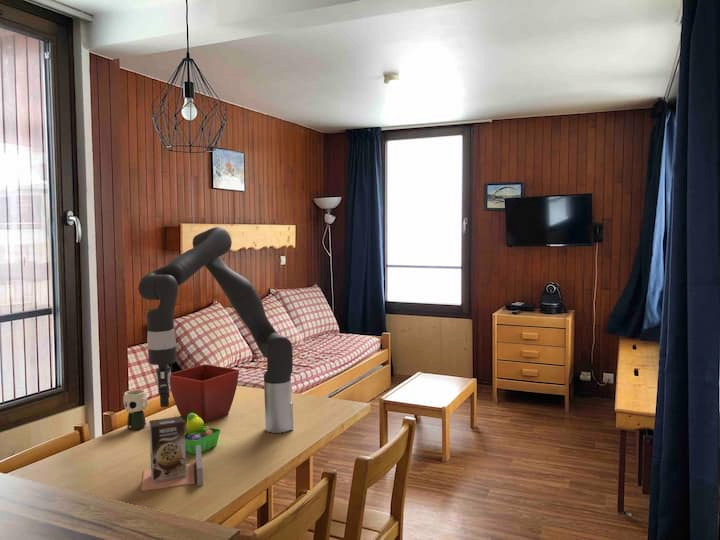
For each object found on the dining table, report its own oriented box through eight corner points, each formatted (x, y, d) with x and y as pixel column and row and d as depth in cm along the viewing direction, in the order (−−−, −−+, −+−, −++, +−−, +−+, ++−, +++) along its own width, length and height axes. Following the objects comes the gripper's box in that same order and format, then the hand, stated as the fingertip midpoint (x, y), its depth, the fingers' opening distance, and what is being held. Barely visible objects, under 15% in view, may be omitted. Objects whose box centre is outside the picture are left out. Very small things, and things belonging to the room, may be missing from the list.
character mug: (117, 429, 211) (115, 393, 210) (132, 422, 218) (130, 388, 217) (141, 433, 207) (139, 396, 206) (155, 426, 213) (153, 390, 212)
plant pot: (242, 412, 226) (240, 369, 225) (204, 427, 210) (202, 381, 209) (206, 405, 237) (205, 363, 235) (168, 419, 221) (165, 374, 219)
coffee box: (153, 483, 164) (150, 426, 163) (150, 475, 170) (148, 420, 169) (187, 477, 168) (184, 421, 167) (183, 468, 174) (181, 415, 173)
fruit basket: (195, 457, 184) (194, 421, 183) (176, 451, 189) (174, 417, 188) (222, 445, 194) (221, 411, 193) (203, 440, 198) (201, 407, 197)
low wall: (201, 460, 181) (200, 444, 180) (203, 485, 164) (202, 467, 163) (196, 461, 180) (195, 445, 180) (197, 486, 163) (196, 468, 163)
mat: (193, 464, 178) (193, 463, 178) (194, 483, 165) (194, 482, 165) (144, 470, 174) (144, 469, 174) (141, 491, 161) (140, 489, 161)
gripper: (175, 349, 161) (179, 408, 162) (176, 339, 174) (179, 394, 176) (146, 352, 158) (149, 411, 160) (149, 342, 172) (152, 397, 173)
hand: (165, 402), depth 168 cm, fingers open, 8 cm apart
